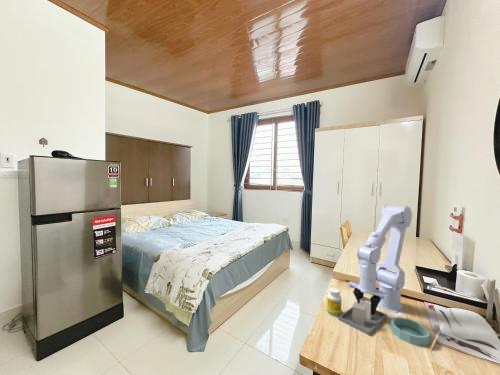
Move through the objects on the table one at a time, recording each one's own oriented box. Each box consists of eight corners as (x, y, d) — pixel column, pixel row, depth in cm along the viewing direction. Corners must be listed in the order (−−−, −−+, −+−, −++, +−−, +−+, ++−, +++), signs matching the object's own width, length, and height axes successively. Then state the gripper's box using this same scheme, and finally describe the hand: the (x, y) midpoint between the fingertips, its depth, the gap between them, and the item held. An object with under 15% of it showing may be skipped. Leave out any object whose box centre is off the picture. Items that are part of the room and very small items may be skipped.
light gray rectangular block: (354, 317, 83) (354, 302, 83) (365, 321, 81) (366, 305, 81) (352, 322, 80) (352, 306, 80) (364, 326, 78) (364, 310, 78)
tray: (358, 305, 92) (358, 302, 92) (386, 318, 84) (386, 314, 84) (338, 320, 82) (338, 316, 82) (369, 336, 73) (369, 332, 73)
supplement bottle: (332, 308, 90) (332, 285, 90) (343, 315, 85) (344, 291, 85) (324, 312, 87) (324, 288, 87) (335, 319, 82) (336, 294, 82)
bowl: (396, 321, 82) (396, 314, 82) (432, 337, 74) (432, 328, 74) (386, 333, 75) (386, 325, 75) (425, 351, 67) (425, 342, 67)
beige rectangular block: (363, 311, 88) (364, 296, 88) (374, 315, 85) (374, 300, 85) (359, 314, 85) (359, 299, 85) (370, 319, 82) (370, 303, 82)
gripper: (345, 273, 88) (344, 306, 88) (384, 286, 77) (383, 324, 77) (352, 269, 93) (352, 300, 93) (391, 281, 81) (390, 317, 81)
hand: (366, 311), depth 85 cm, fingers open, 4 cm apart
